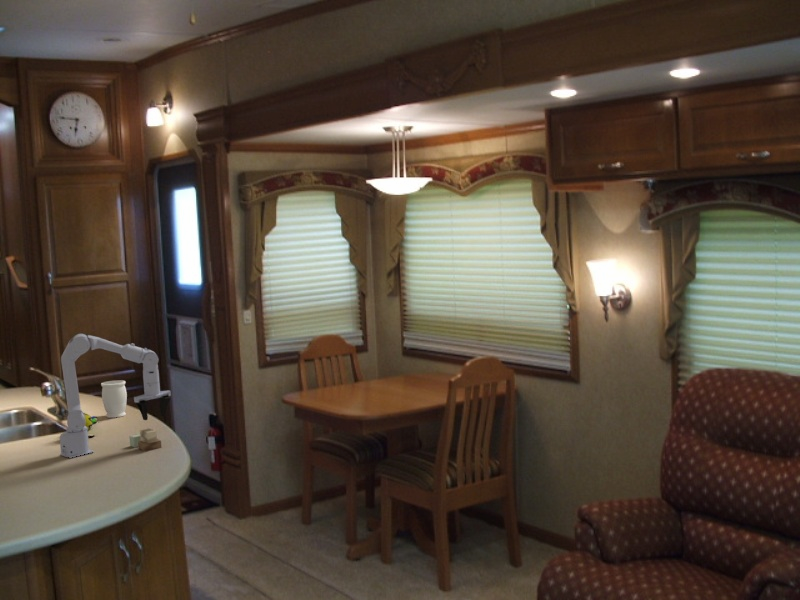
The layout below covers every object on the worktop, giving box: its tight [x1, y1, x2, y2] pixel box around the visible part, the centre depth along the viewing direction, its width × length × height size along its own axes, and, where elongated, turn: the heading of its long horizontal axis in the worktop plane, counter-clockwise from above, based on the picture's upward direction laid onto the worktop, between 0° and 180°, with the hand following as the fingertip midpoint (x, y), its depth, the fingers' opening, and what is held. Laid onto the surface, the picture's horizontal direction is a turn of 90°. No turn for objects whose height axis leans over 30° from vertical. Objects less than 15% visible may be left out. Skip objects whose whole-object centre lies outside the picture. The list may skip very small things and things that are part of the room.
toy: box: [83, 412, 99, 437], centre depth 369 cm, size 9×10×30 cm
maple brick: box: [139, 428, 158, 443], centre depth 336 cm, size 6×4×4 cm, turn 42°
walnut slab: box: [137, 438, 162, 452], centre depth 336 cm, size 7×5×3 cm
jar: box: [100, 379, 128, 419], centre depth 395 cm, size 11×10×15 cm
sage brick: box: [129, 433, 141, 448], centre depth 342 cm, size 6×4×4 cm, turn 135°
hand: (154, 417), depth 342 cm, fingers open, 7 cm apart
